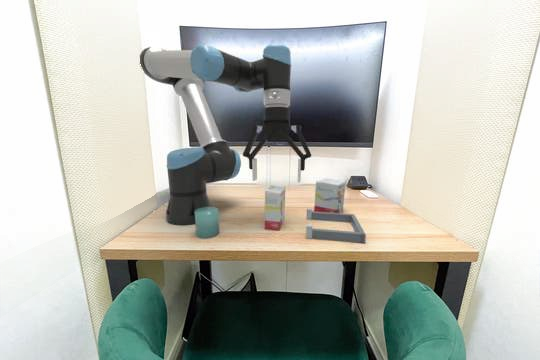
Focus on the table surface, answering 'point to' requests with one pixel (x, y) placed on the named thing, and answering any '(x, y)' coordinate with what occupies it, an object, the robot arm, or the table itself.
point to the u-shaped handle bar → (335, 235)
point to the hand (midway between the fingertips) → (276, 180)
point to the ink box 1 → (274, 207)
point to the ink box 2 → (329, 196)
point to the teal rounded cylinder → (207, 222)
